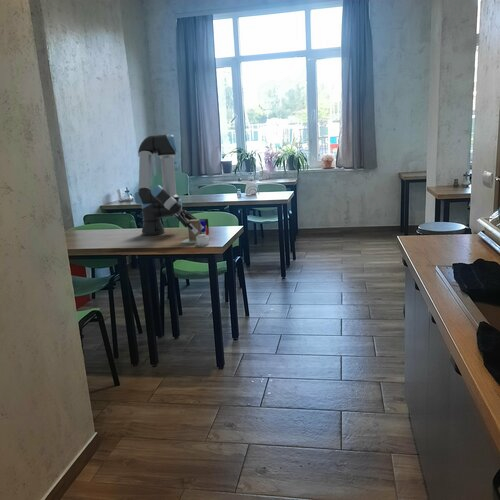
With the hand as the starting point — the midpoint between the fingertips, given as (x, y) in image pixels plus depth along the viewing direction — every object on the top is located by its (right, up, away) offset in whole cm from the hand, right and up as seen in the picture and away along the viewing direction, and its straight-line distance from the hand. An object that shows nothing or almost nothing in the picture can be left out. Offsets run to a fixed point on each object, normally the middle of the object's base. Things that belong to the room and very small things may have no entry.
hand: (199, 230), depth 282 cm
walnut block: (-3, -5, +2) cm, 6 cm away
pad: (-3, -6, +2) cm, 7 cm away
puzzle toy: (-2, -3, +18) cm, 18 cm away
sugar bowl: (+3, -9, -10) cm, 14 cm away
